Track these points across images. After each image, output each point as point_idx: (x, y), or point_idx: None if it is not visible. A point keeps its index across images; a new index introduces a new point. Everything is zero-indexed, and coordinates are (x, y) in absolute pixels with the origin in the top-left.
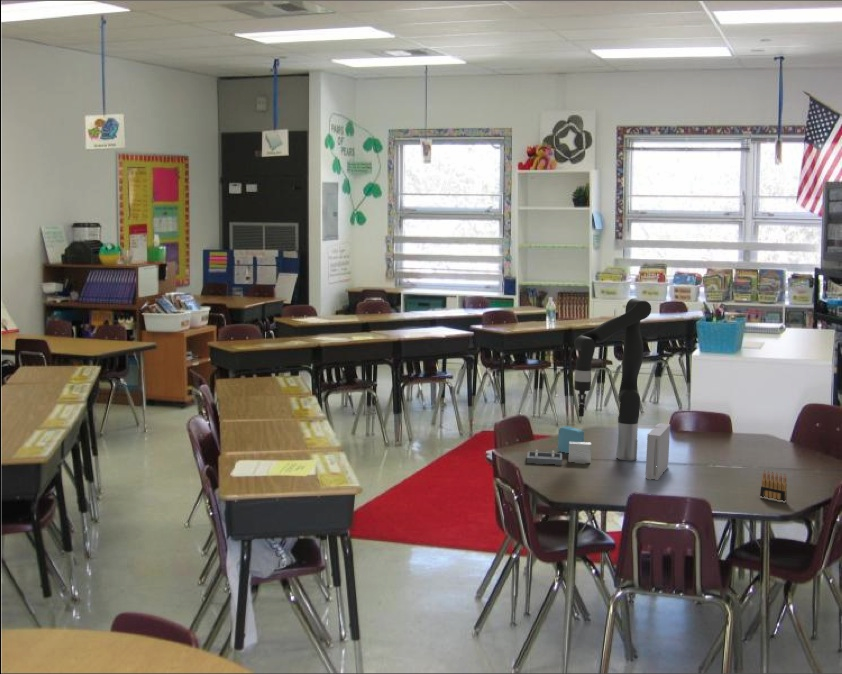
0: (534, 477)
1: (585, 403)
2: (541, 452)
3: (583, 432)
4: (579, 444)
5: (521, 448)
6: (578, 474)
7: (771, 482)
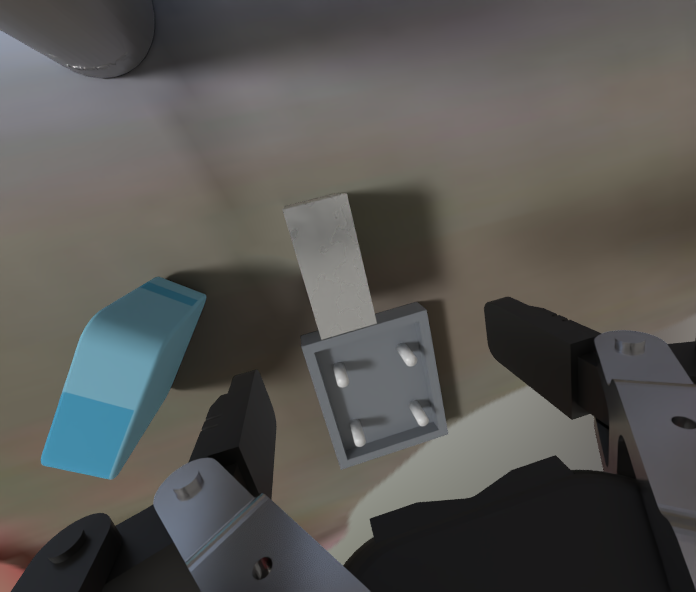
0: None
1: (635, 381)
2: (333, 422)
3: (101, 315)
4: (363, 266)
5: None
6: (538, 199)
7: None
